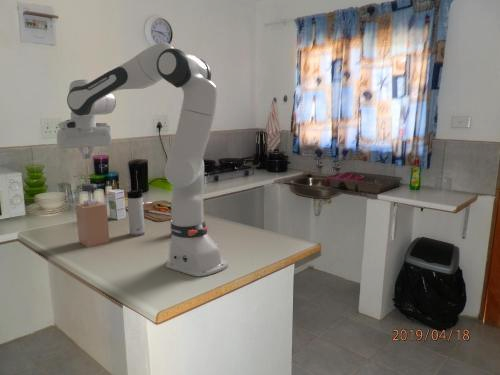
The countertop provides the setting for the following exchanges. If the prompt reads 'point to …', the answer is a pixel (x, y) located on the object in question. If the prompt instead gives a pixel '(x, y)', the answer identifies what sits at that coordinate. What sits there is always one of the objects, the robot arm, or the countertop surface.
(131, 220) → the travel mug
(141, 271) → the countertop surface
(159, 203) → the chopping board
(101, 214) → the dispenser
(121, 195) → the syrup box
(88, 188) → the pump head
